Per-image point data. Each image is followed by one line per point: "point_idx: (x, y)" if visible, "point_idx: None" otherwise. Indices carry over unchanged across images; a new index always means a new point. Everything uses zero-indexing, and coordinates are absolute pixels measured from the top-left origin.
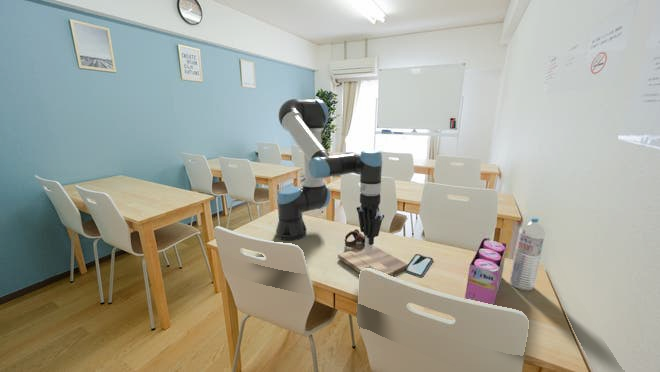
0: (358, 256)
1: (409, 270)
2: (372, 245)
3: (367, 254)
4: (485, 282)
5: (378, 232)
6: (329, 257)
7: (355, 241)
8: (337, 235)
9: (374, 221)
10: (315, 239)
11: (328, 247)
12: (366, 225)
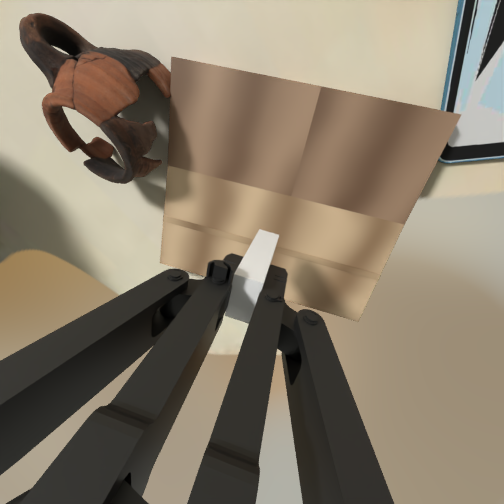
0: (219, 221)
1: (469, 139)
2: (274, 248)
3: (234, 174)
4: None
5: (331, 354)
6: (143, 258)
7: (136, 164)
8: (7, 85)
9: (258, 447)
10: (10, 189)
11: (85, 206)
12: (193, 380)
